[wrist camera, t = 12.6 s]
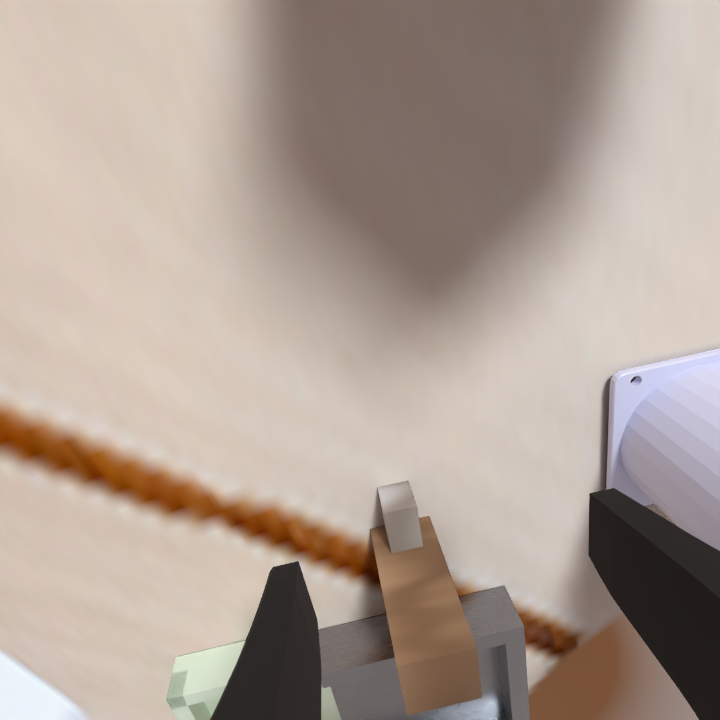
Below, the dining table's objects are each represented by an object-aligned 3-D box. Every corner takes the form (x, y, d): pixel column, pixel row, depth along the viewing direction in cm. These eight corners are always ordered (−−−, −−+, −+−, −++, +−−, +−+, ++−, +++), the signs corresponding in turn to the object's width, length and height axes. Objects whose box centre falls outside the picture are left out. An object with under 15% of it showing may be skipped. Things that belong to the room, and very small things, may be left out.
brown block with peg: (423, 477, 23) (472, 602, 17) (440, 592, 26) (486, 733, 20) (361, 490, 23) (387, 622, 17) (386, 604, 26) (414, 750, 20)
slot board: (504, 585, 27) (524, 626, 25) (514, 705, 31) (531, 749, 29) (316, 630, 26) (318, 675, 24) (354, 745, 31) (359, 793, 29)
